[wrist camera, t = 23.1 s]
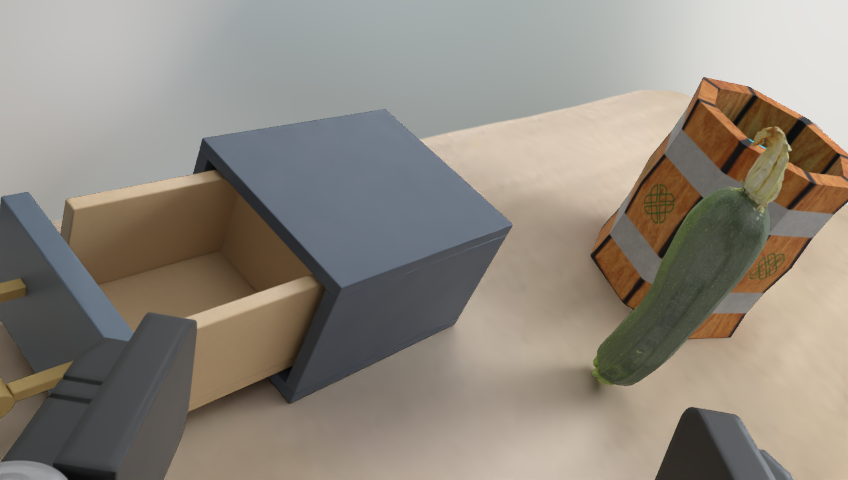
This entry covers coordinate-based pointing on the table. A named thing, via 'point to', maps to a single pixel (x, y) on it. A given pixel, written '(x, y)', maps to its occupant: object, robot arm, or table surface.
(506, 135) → the table surface
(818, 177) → the mug
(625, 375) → the vegetable
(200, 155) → the cabinet
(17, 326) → the drawer
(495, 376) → the table surface
